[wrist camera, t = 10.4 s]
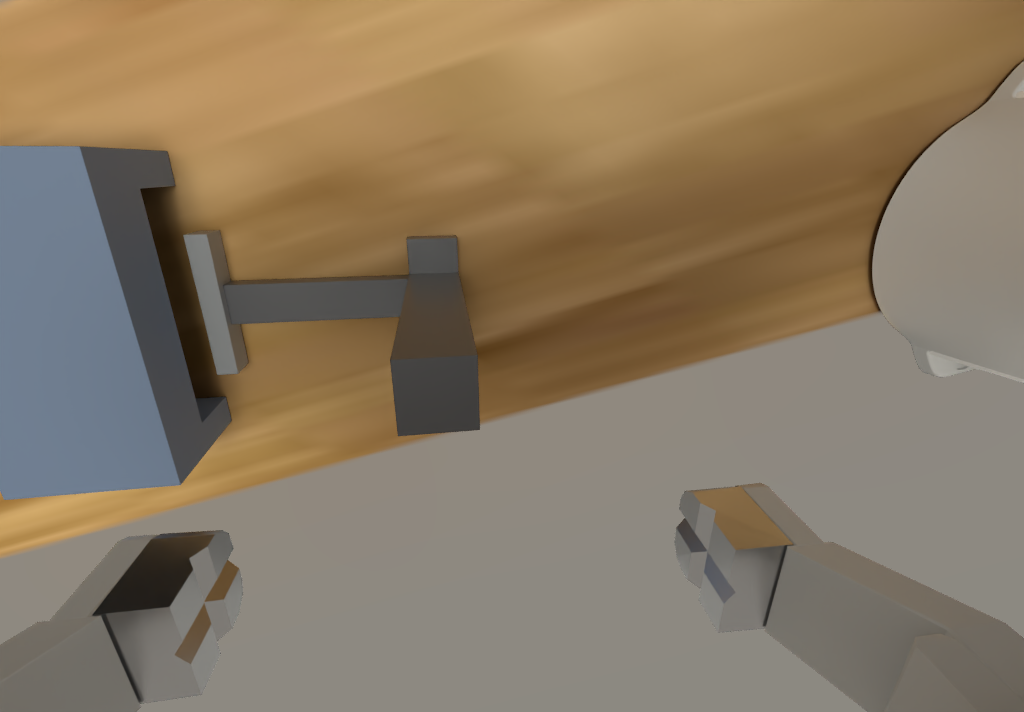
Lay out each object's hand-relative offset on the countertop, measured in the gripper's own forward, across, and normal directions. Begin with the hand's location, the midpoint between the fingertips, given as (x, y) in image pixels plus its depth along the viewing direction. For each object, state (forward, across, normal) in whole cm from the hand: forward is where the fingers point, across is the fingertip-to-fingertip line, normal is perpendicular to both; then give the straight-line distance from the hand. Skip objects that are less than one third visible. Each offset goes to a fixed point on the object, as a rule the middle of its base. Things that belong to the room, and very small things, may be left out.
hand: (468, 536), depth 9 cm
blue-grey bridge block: (+19, +16, 0) cm, 25 cm away
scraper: (+19, +6, 0) cm, 20 cm away
